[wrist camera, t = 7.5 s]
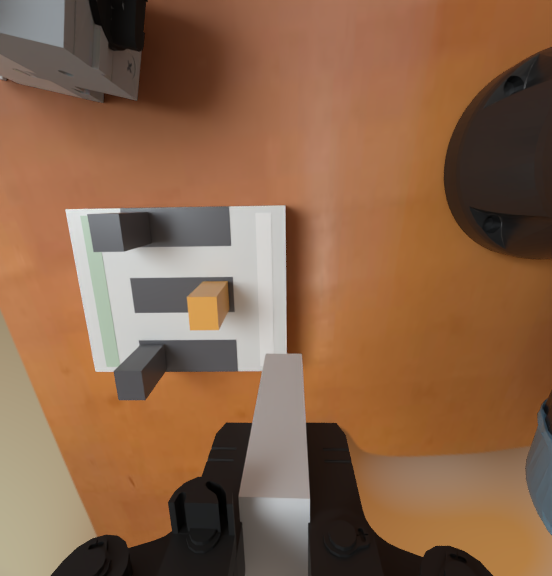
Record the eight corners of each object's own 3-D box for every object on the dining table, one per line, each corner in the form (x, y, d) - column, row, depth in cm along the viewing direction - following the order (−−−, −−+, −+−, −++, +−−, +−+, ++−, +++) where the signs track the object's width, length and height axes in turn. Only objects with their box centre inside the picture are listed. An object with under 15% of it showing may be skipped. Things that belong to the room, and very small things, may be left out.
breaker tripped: (227, 281, 25) (216, 296, 21) (229, 309, 26) (218, 330, 21) (203, 281, 25) (186, 297, 21) (205, 309, 26) (190, 330, 21)
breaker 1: (147, 211, 24) (118, 213, 19) (151, 243, 24) (124, 251, 20) (122, 212, 24) (87, 214, 20) (126, 243, 24) (93, 252, 20)
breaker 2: (163, 344, 27) (141, 370, 22) (166, 369, 27) (145, 400, 23) (140, 344, 27) (113, 371, 22) (144, 369, 27) (118, 400, 23)
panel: (285, 205, 26) (285, 205, 24) (286, 355, 30) (286, 371, 27) (88, 208, 27) (65, 209, 24) (113, 355, 31) (95, 372, 28)
